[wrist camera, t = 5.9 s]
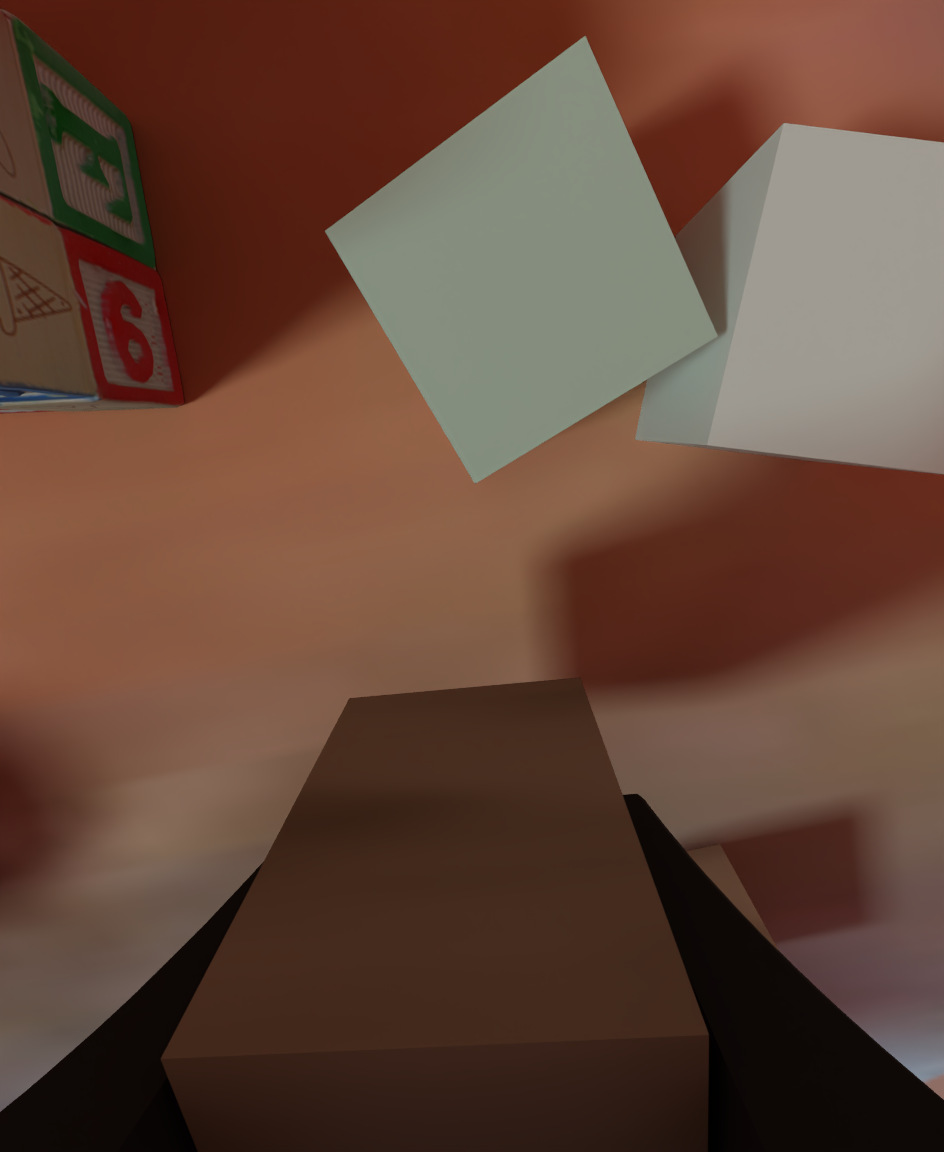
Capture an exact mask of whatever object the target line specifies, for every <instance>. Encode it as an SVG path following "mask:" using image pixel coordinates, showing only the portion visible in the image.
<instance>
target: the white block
mask: <svg viewBox="0 0 944 1152" xmlns="http://www.w3.org/2000/svg"><path fill="white" fill-rule="evenodd" d="M675 240H676V242H677V245H678V247H679V249H680V252H681V254H682V256H683V258H684V261H685V263H686V265H687V267H688V270H689V272H690V274H691V276H692V279H693V281H694V283H695V286H696V288H697V290H698V292H699V295H700V297H701V299H702V301H703V304H704V306H705V308H706V310H707V313H708V315H709V317H710V320H711V322H712V324H713V326H714V329H715V331H716V333H717V335H718V337H716V338H714V339H713V340H711V341H709V342H708V343H706V344H705V345H703V346H701V347H700V348H698V349H696V350H695V351H693V352H691V353H690V354H688V355H686V356H685V357H683V358H681V359H680V360H678V361H677V362H675V363H673V364H672V365H670V366H668V367H667V368H665V369H663V370H662V371H660V372H658V373H657V374H655V375H653V376H652V377H650V378H649V379H647V383H646V388H645V393H644V398H643V403H642V408H641V413H640V418H639V423H638V428H637V433H636V438H635V440H642V441H650V442H658V443H666V444H674V445H683V446H691V447H699V448H707V449H715V450H723V451H732V452H740V453H748V454H756V455H764V456H773V457H781V458H789V459H797V460H805V461H813V462H823V463H833V464H843V465H853V466H863V467H873V468H883V469H892V470H902V471H912V472H922V473H932V474H942V475H944V143H943V142H935V141H927V140H919V139H910V138H902V137H894V136H886V135H878V134H870V133H861V132H853V131H845V130H837V129H829V128H821V127H812V126H804V125H796V124H788V123H783V124H782V125H781V126H780V127H779V128H778V130H777V131H776V132H775V133H774V134H773V135H772V136H771V137H770V138H769V139H768V140H767V141H766V142H765V143H764V144H763V145H762V146H761V147H760V148H759V149H758V150H757V151H756V152H755V153H754V155H753V156H752V157H751V158H750V159H749V160H748V161H747V162H746V163H745V164H744V165H743V166H742V167H741V168H740V169H739V170H738V171H737V172H736V173H735V174H734V175H733V176H732V177H731V178H730V179H729V181H728V182H727V183H726V184H725V185H724V186H723V187H722V188H721V189H720V190H719V191H718V192H717V193H716V194H715V195H714V196H713V197H712V198H711V199H710V200H709V201H708V202H707V203H706V204H705V205H704V207H703V208H702V209H701V210H700V211H699V212H698V213H697V214H696V215H695V216H694V217H693V218H692V219H691V220H690V221H689V222H688V223H687V224H686V225H685V226H684V227H683V228H682V229H681V230H680V231H679V233H678V234H677V235H676V238H675Z"/></svg>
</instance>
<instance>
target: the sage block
mask: <svg viewBox="0 0 944 1152" xmlns="http://www.w3.org/2000/svg"><path fill="white" fill-rule="evenodd" d="M325 232H326V234H327V236H328V237H329V239H330V241H331V242H332V244H333V246H334V247H335V249H336V251H337V252H338V254H339V256H340V258H341V259H342V261H343V263H344V264H345V266H346V268H347V269H348V271H349V273H350V274H351V276H352V278H353V279H354V281H355V283H356V284H357V286H358V288H359V289H360V291H361V293H362V294H363V296H364V298H365V300H366V301H367V303H368V305H369V306H370V308H371V310H372V311H373V313H374V315H375V316H376V318H377V320H378V321H379V323H380V325H381V326H382V328H383V330H384V331H385V333H386V335H387V336H388V338H389V340H390V342H391V343H392V345H393V347H394V348H395V350H396V352H397V353H398V355H399V357H400V358H401V360H402V362H403V363H404V365H405V367H406V368H407V370H408V372H409V373H410V375H411V377H412V379H413V380H414V382H415V384H416V385H417V387H418V389H419V390H420V392H421V394H422V395H423V397H424V399H425V400H426V402H427V404H428V405H429V407H430V409H431V410H432V412H433V414H434V415H435V417H436V419H437V421H438V422H439V424H440V426H441V427H442V429H443V431H444V432H445V434H446V436H447V437H448V439H449V441H450V442H451V444H452V446H453V447H454V449H455V451H456V452H457V454H458V456H459V457H460V459H461V461H462V463H463V464H464V466H465V468H466V469H467V471H468V473H469V474H470V476H471V478H472V479H473V481H474V483H477V482H479V481H480V480H482V479H484V478H485V477H487V476H489V475H490V474H492V473H494V472H495V471H497V470H499V469H500V468H502V467H504V466H505V465H507V464H508V463H510V462H512V461H513V460H515V459H517V458H518V457H520V456H522V455H523V454H525V453H527V452H528V451H530V450H532V449H533V448H535V447H536V446H538V445H540V444H541V443H543V442H545V441H546V440H548V439H550V438H551V437H553V436H555V435H556V434H558V433H560V432H561V431H563V430H564V429H566V428H568V427H569V426H571V425H573V424H574V423H576V422H578V421H579V420H581V419H583V418H584V417H586V416H588V415H589V414H591V413H592V412H594V411H596V410H597V409H599V408H601V407H602V406H604V405H606V404H607V403H609V402H611V401H612V400H614V399H616V398H617V397H619V396H621V395H622V394H624V393H625V392H627V391H629V390H630V389H632V388H634V387H635V386H637V385H639V384H640V383H642V382H644V381H645V380H647V379H649V378H650V377H652V376H653V375H655V374H657V373H658V372H660V371H662V370H663V369H665V368H667V367H668V366H670V365H672V364H673V363H675V362H677V361H678V360H680V359H681V358H683V357H685V356H686V355H688V354H690V353H691V352H693V351H695V350H696V349H698V348H700V347H701V346H703V345H705V344H706V343H708V342H709V341H711V340H713V339H714V338H716V337H718V335H717V333H716V331H715V329H714V326H713V324H712V322H711V320H710V317H709V315H708V313H707V310H706V308H705V306H704V304H703V301H702V299H701V297H700V295H699V292H698V290H697V288H696V286H695V283H694V281H693V279H692V276H691V274H690V272H689V270H688V267H687V265H686V263H685V261H684V258H683V256H682V254H681V252H680V249H679V247H678V245H677V242H676V240H675V238H674V236H673V233H672V231H671V229H670V227H669V224H668V222H667V220H666V218H665V215H664V213H663V211H662V208H661V206H660V204H659V202H658V199H657V197H656V195H655V193H654V190H653V188H652V186H651V184H650V181H649V179H648V177H647V174H646V172H645V170H644V168H643V165H642V163H641V161H640V159H639V156H638V154H637V152H636V150H635V147H634V145H633V143H632V140H631V138H630V136H629V134H628V131H627V129H626V127H625V125H624V122H623V120H622V118H621V116H620V113H619V111H618V109H617V106H616V104H615V102H614V100H613V97H612V95H611V93H610V91H609V88H608V86H607V84H606V82H605V79H604V77H603V75H602V73H601V70H600V68H599V66H598V63H597V61H596V59H595V57H594V54H593V52H592V50H591V48H590V45H589V43H588V41H587V39H586V36H584V37H583V38H581V39H580V40H579V41H577V42H576V43H575V44H573V45H572V46H571V47H569V48H568V49H567V50H565V51H564V52H563V53H561V54H560V55H559V56H557V57H556V58H555V59H553V60H552V61H551V62H549V63H548V64H547V65H545V66H544V67H543V68H541V69H540V70H539V71H537V72H536V73H535V74H533V75H532V76H531V77H529V78H528V79H527V80H525V81H524V82H523V83H521V84H520V85H519V86H517V87H516V88H515V89H513V90H512V91H511V92H509V93H508V94H507V95H505V96H504V97H503V98H501V99H500V100H499V101H497V102H496V103H495V104H493V105H492V106H491V107H489V108H488V109H487V110H485V111H484V112H483V113H481V114H480V115H479V116H477V117H476V118H475V119H473V120H472V121H471V122H469V123H468V124H467V125H465V126H464V127H463V128H461V129H460V130H459V131H457V132H456V133H455V134H453V135H452V136H451V137H449V138H448V139H447V140H445V141H444V142H443V143H441V144H440V145H439V146H437V147H436V148H435V149H433V150H432V151H431V152H429V153H428V154H427V155H425V156H424V157H423V158H421V159H420V160H419V161H417V162H416V163H415V164H413V165H412V166H411V167H409V168H408V169H407V170H405V171H404V172H403V173H401V174H400V175H399V176H397V177H396V178H395V179H393V180H392V181H391V182H389V183H388V184H387V185H385V186H384V187H383V188H381V189H380V190H379V191H377V192H376V193H375V194H373V195H372V196H371V197H369V198H368V199H367V200H365V201H364V202H363V203H361V204H360V205H359V206H357V207H356V208H355V209H353V210H352V211H351V212H349V213H348V214H347V215H345V216H344V217H343V218H341V219H340V220H339V221H337V222H336V223H335V224H333V225H332V226H331V227H329V228H328V229H327V230H325Z"/></svg>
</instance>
